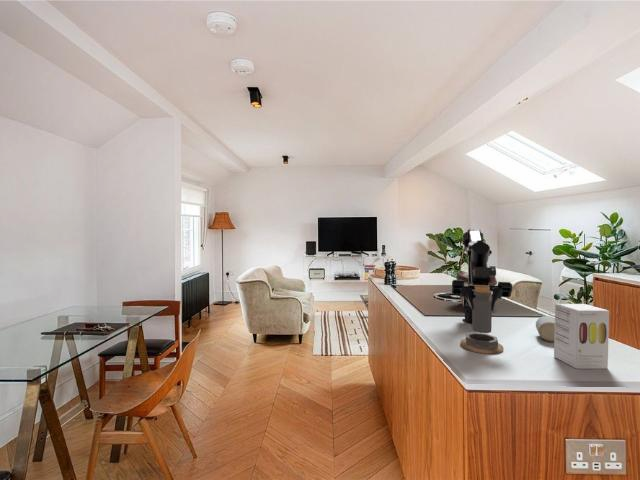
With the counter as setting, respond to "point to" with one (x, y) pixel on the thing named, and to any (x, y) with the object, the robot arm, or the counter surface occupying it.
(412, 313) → the counter surface
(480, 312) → the bottle
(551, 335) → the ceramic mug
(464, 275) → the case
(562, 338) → the supplement box
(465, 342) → the ring coaster
